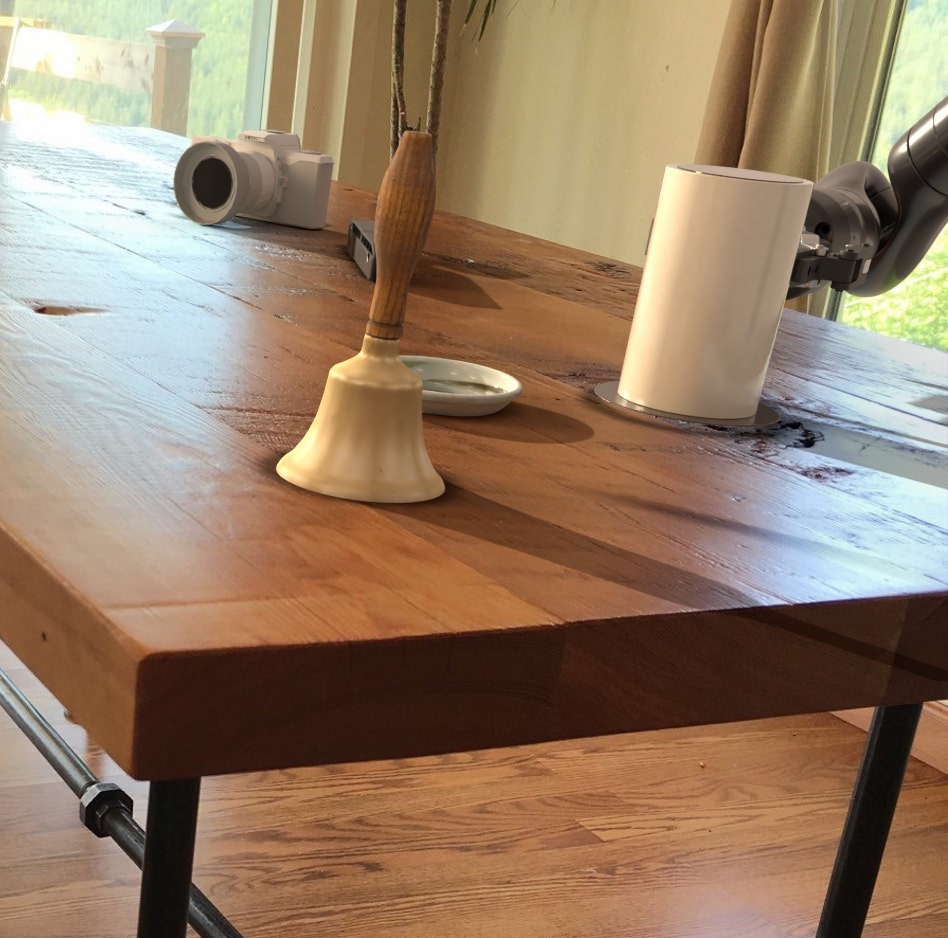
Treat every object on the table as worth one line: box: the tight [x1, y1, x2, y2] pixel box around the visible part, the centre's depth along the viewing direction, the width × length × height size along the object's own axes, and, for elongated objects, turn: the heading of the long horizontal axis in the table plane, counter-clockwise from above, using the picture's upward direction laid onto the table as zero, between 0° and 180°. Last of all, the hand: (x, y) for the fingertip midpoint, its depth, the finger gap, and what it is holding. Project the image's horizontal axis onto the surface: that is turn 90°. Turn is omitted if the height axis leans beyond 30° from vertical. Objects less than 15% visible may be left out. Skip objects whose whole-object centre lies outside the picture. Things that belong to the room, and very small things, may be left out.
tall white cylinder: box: [618, 163, 815, 419], centre depth 99 cm, size 13×8×13 cm, turn 172°
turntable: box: [593, 380, 781, 427], centre depth 100 cm, size 11×11×1 cm
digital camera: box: [173, 129, 335, 230], centre depth 163 cm, size 17×14×10 cm
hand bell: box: [275, 130, 446, 504], centre depth 76 cm, size 8×8×16 cm
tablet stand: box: [346, 218, 377, 282], centre depth 143 cm, size 18×3×3 cm, turn 0°
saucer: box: [399, 355, 524, 417], centre depth 94 cm, size 10×10×2 cm
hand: (722, 258), depth 108 cm, fingers open, 8 cm apart
